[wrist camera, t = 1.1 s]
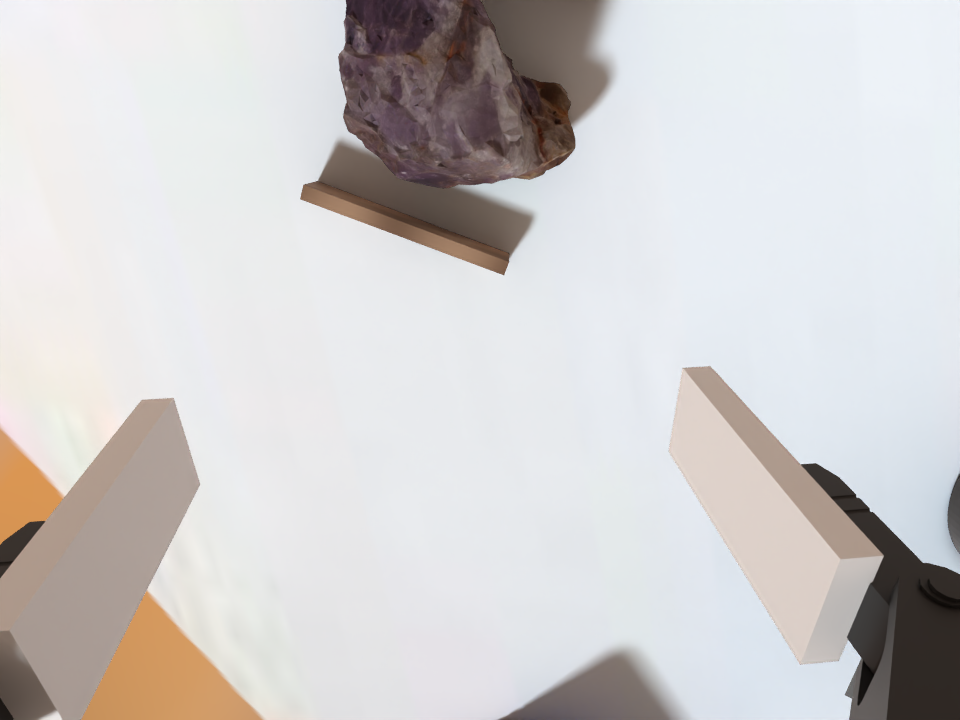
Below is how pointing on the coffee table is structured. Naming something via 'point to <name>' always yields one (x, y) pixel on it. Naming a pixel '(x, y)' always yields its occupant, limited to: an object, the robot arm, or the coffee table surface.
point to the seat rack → (405, 226)
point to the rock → (446, 95)
